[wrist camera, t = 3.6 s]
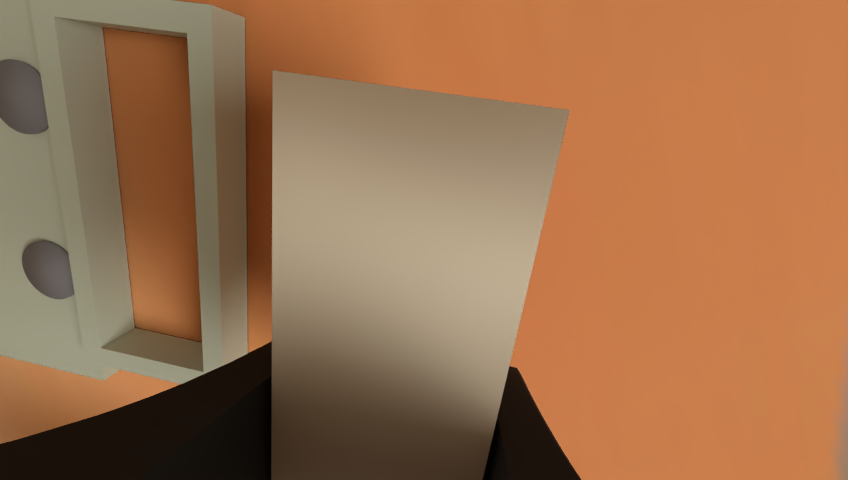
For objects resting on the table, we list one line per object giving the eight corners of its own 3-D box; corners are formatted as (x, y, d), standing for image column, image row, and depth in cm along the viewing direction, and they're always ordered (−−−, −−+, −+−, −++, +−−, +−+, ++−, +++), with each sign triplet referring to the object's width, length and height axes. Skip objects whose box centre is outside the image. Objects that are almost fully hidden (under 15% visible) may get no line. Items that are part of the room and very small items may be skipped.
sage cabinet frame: (248, 397, 22) (224, 423, 20) (15, 341, 24) (-26, 361, 22) (244, -34, 16) (209, -54, 14) (-72, -66, 17) (-142, -88, 15)
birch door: (455, 469, 14) (427, 711, 8) (358, 446, 15) (270, 661, 9) (529, 107, 10) (569, 109, 4) (392, 88, 11) (272, 70, 5)
